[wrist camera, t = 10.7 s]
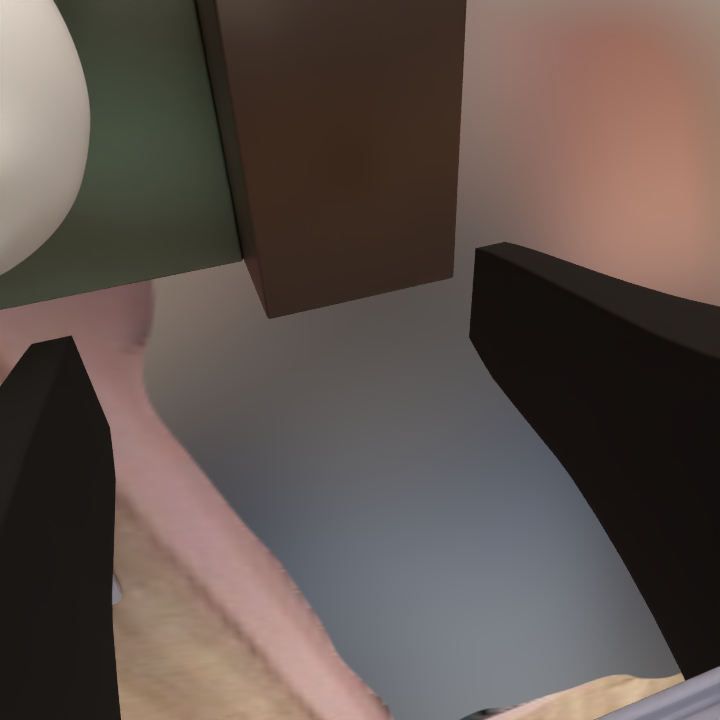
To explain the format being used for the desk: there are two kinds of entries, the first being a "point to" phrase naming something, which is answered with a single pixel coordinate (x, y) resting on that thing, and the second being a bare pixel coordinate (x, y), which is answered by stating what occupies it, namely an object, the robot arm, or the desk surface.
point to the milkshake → (38, 125)
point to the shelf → (262, 148)
